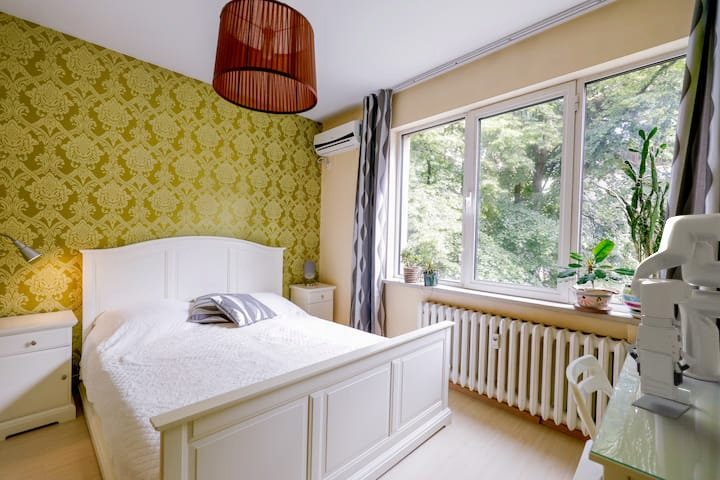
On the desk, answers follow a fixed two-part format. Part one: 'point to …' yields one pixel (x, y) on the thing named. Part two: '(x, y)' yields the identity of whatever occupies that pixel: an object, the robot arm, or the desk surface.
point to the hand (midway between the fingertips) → (659, 379)
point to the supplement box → (657, 374)
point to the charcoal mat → (661, 406)
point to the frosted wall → (681, 395)
